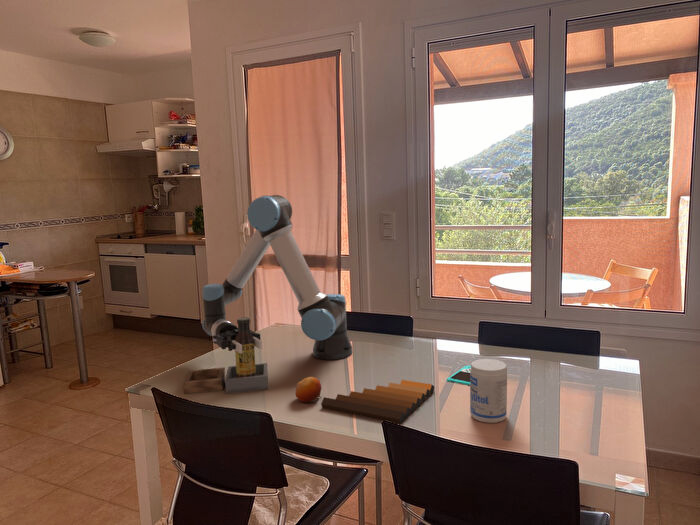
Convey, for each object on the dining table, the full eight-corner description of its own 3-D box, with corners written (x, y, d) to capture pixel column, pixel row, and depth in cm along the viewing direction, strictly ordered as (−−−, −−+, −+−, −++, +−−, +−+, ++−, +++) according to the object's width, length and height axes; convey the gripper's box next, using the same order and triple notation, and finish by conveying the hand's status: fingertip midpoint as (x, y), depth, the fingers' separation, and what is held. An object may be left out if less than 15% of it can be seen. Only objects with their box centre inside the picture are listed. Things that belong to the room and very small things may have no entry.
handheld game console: (495, 372, 177) (495, 368, 177) (475, 388, 164) (475, 384, 164) (467, 367, 183) (467, 363, 183) (446, 382, 170) (446, 378, 170)
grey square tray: (267, 375, 183) (266, 362, 182) (267, 389, 170) (266, 376, 169) (229, 379, 181) (228, 366, 180) (226, 393, 168) (225, 380, 168)
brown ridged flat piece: (321, 410, 154) (400, 426, 141) (320, 399, 153) (399, 414, 141) (362, 381, 175) (434, 393, 162) (362, 371, 174) (434, 382, 162)
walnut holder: (225, 377, 183) (224, 367, 183) (222, 389, 172) (221, 379, 171) (189, 380, 182) (188, 370, 181) (184, 393, 170) (183, 383, 169)
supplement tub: (464, 418, 143) (463, 365, 141) (480, 406, 150) (479, 356, 148) (498, 427, 137) (497, 372, 135) (513, 414, 144) (513, 362, 142)
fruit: (324, 401, 155) (309, 378, 155) (302, 413, 157) (288, 390, 157) (330, 390, 163) (316, 368, 163) (310, 402, 165) (296, 380, 165)
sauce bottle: (239, 382, 171) (234, 322, 168) (234, 376, 177) (229, 318, 173) (259, 377, 174) (254, 319, 171) (253, 372, 179) (248, 315, 176)
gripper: (251, 337, 194) (278, 352, 175) (199, 347, 184) (223, 364, 165) (249, 317, 193) (277, 330, 174) (197, 326, 183) (221, 341, 164)
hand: (250, 346), depth 169 cm, fingers closed on sauce bottle, 6 cm apart
